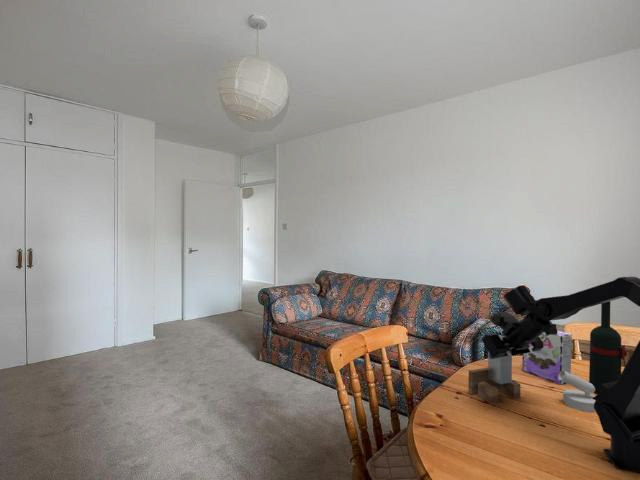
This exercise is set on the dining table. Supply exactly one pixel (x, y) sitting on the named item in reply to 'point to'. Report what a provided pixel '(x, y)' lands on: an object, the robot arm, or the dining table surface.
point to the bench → (490, 386)
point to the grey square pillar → (500, 368)
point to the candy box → (550, 357)
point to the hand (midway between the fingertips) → (496, 356)
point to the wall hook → (578, 393)
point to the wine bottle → (605, 352)
